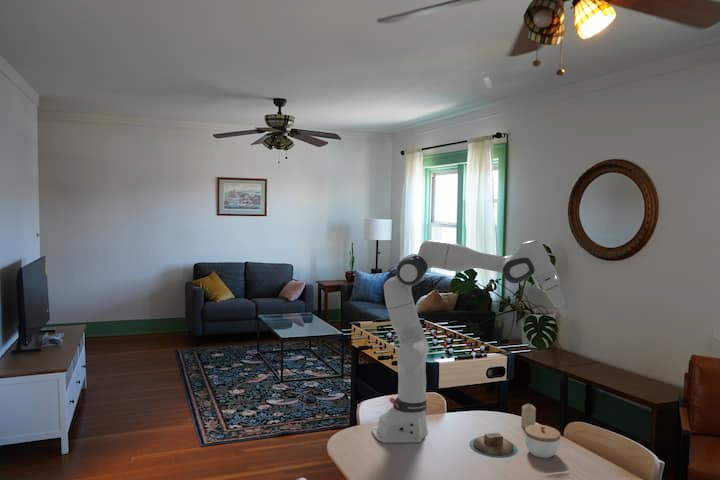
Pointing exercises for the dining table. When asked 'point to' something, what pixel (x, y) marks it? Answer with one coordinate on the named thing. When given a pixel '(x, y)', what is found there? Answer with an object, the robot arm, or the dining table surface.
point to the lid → (493, 444)
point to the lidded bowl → (542, 440)
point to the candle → (528, 415)
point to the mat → (493, 455)
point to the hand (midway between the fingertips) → (563, 313)
